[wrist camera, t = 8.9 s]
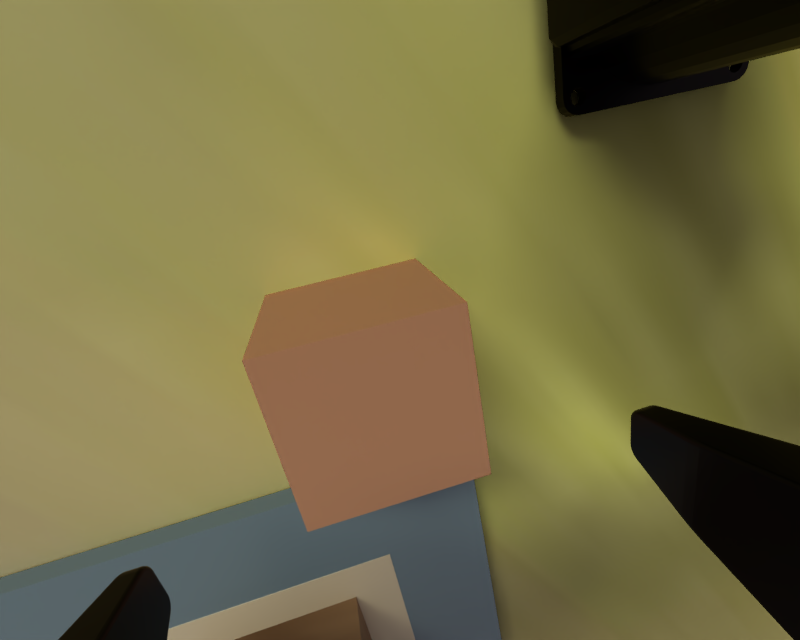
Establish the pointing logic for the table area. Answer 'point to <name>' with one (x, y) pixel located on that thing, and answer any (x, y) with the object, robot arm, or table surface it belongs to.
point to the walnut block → (320, 625)
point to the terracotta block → (368, 390)
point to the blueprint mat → (284, 572)
